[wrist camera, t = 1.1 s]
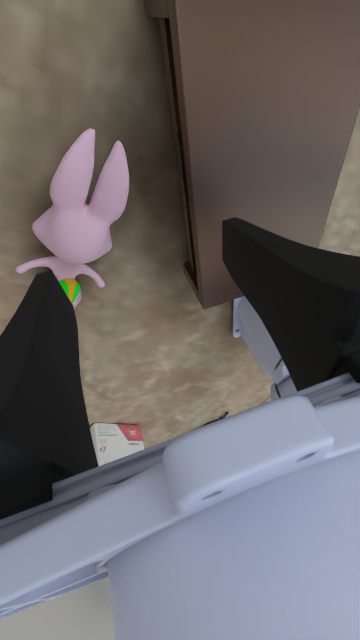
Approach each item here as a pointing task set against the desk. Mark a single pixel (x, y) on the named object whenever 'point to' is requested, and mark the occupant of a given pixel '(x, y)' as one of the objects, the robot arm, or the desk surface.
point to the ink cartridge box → (115, 441)
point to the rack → (257, 118)
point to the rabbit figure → (81, 214)
